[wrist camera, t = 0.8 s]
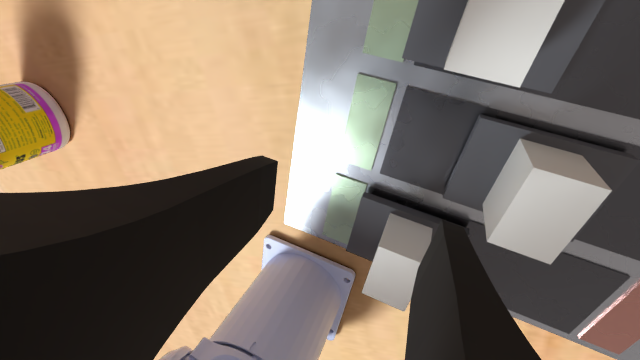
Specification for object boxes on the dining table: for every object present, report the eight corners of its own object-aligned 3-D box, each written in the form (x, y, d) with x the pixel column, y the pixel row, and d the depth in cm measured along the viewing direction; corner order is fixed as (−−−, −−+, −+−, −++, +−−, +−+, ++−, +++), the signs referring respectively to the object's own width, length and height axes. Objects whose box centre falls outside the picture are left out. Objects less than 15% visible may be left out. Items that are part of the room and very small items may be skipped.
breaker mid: (568, 234, 15) (595, 289, 12) (443, 192, 16) (439, 232, 13) (633, 155, 12) (687, 199, 9) (479, 114, 14) (485, 141, 11)
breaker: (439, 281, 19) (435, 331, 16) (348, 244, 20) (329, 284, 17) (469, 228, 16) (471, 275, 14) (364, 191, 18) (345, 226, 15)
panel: (660, 357, 18) (676, 385, 16) (293, 212, 23) (283, 224, 22) (1175, 8, 8) (1314, 7, 7) (337, -95, 14) (324, -106, 12)
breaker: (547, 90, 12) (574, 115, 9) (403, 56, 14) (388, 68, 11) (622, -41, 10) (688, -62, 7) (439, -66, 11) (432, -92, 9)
